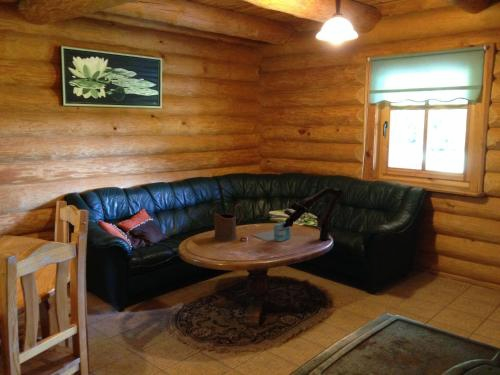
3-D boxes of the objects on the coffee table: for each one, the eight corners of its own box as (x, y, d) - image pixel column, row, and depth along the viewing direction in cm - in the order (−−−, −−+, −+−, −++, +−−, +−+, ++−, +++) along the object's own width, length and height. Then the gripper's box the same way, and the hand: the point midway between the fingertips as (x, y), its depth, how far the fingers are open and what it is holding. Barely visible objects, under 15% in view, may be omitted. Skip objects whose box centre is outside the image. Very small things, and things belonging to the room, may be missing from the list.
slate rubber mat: (274, 230, 348) (274, 230, 347) (290, 236, 331) (290, 235, 331) (251, 235, 335) (251, 234, 335) (267, 241, 319) (267, 241, 319)
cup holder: (209, 237, 331) (208, 204, 327) (237, 232, 342) (237, 201, 338) (219, 243, 315) (218, 209, 311) (248, 238, 326) (248, 206, 322)
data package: (278, 241, 317) (277, 225, 316) (274, 241, 320) (273, 224, 319) (290, 238, 324) (289, 222, 323) (286, 237, 328) (285, 222, 327)
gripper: (293, 202, 323) (278, 216, 328) (288, 208, 305) (272, 222, 311) (303, 213, 322) (288, 227, 327) (299, 219, 305) (283, 233, 310)
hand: (283, 227), depth 319 cm, fingers closed
